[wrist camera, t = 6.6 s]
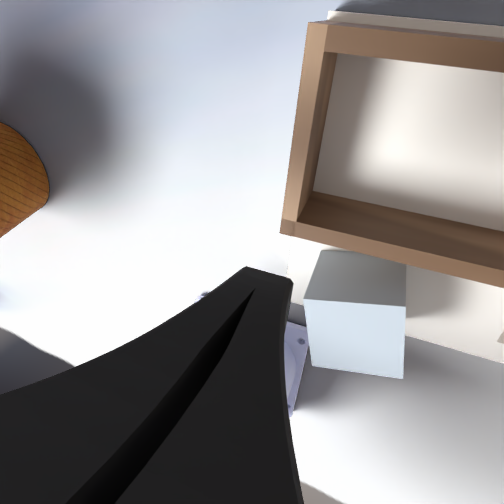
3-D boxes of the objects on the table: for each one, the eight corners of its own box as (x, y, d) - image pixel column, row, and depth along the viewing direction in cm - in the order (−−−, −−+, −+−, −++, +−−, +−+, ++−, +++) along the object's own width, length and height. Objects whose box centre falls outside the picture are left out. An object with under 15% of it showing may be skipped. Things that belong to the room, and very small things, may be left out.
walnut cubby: (558, 259, 15) (588, 309, 13) (298, 201, 18) (279, 233, 15) (694, 56, 11) (781, 70, 8) (327, 20, 14) (307, 22, 11)
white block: (403, 318, 19) (403, 379, 16) (326, 311, 21) (312, 365, 17) (406, 252, 17) (405, 306, 14) (320, 250, 19) (303, 298, 16)
